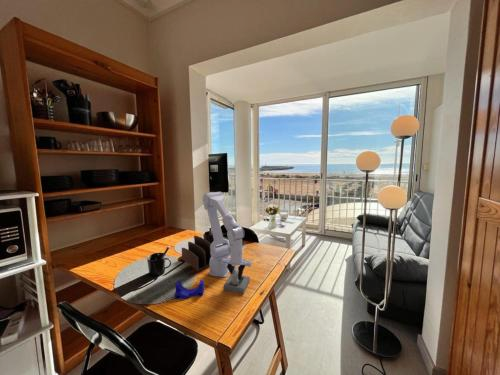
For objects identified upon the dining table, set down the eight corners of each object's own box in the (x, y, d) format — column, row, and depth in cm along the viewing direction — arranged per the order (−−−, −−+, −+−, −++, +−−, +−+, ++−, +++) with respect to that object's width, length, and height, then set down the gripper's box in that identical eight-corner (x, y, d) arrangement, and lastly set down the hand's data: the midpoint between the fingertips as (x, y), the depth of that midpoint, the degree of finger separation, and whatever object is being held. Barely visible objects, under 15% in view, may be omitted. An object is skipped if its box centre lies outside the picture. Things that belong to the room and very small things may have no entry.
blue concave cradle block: (175, 299, 92) (174, 286, 91) (178, 292, 96) (177, 280, 96) (202, 298, 93) (201, 285, 92) (204, 291, 97) (203, 279, 96)
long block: (231, 287, 98) (231, 273, 97) (235, 279, 104) (235, 266, 102) (237, 288, 97) (237, 274, 96) (241, 280, 103) (241, 267, 102)
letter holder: (196, 254, 135) (195, 233, 133) (213, 265, 121) (212, 242, 119) (181, 259, 128) (180, 237, 126) (198, 271, 114) (196, 247, 112)
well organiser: (223, 290, 97) (223, 285, 97) (231, 278, 107) (230, 274, 107) (243, 293, 95) (243, 288, 94) (249, 281, 104) (249, 276, 104)
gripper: (218, 254, 96) (219, 281, 98) (248, 257, 93) (249, 285, 95) (224, 247, 103) (225, 273, 105) (252, 250, 99) (252, 277, 101)
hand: (236, 278), depth 100 cm, fingers closed on long block, 3 cm apart
